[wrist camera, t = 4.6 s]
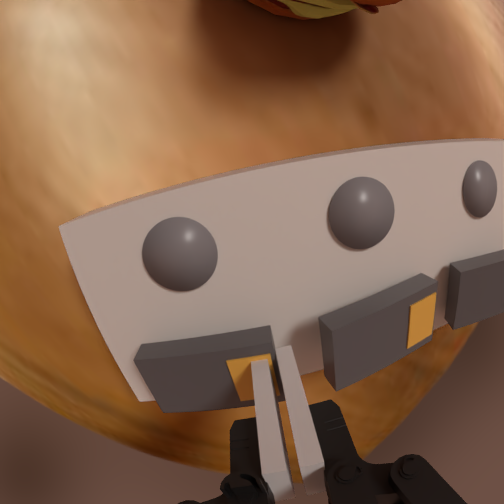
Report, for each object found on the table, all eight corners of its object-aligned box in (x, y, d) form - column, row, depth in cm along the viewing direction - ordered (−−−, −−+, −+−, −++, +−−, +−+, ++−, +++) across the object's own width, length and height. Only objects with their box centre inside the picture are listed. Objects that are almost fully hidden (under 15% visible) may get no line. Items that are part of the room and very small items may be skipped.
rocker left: (168, 395, 15) (162, 413, 14) (141, 343, 14) (132, 361, 13) (283, 382, 15) (285, 402, 14) (270, 325, 14) (272, 343, 12)
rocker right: (444, 318, 16) (453, 330, 14) (449, 262, 15) (461, 273, 13) (512, 295, 15) (523, 304, 13) (520, 244, 14) (532, 252, 12)
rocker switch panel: (150, 365, 20) (139, 403, 16) (89, 211, 16) (56, 227, 12) (486, 271, 20) (516, 289, 16) (485, 138, 17) (522, 140, 13)
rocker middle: (324, 375, 15) (336, 392, 13) (317, 316, 13) (333, 332, 12) (417, 329, 16) (432, 340, 14) (421, 272, 15) (439, 281, 13)
